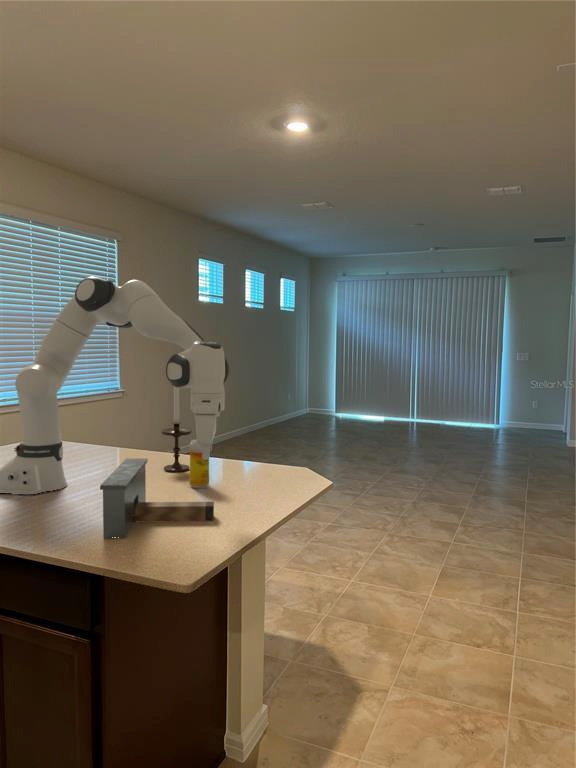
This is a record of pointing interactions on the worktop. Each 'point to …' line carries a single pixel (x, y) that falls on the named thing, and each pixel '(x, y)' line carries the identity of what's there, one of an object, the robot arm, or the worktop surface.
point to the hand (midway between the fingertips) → (207, 455)
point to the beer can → (198, 466)
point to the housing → (123, 497)
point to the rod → (174, 511)
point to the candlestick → (176, 437)
